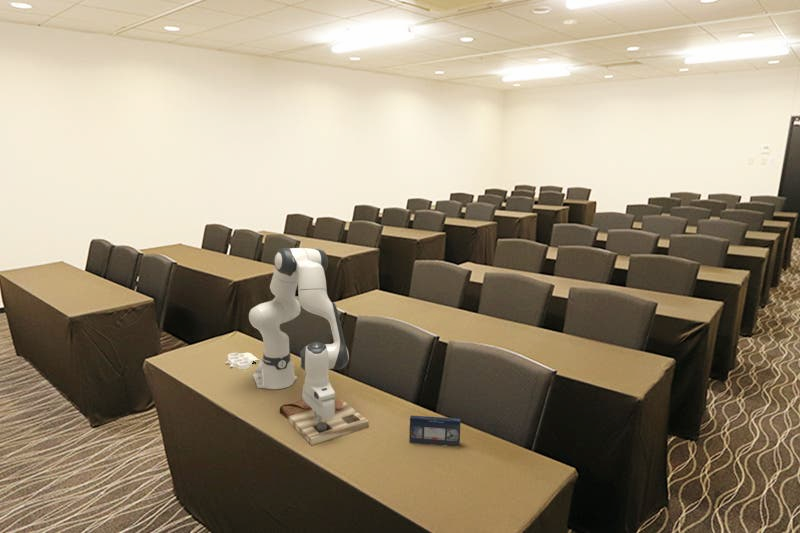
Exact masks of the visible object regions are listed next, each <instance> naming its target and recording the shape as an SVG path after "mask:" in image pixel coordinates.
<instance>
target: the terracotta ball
mask: <svg viewBox="0 0 800 533" xmlns="http://www.w3.org/2000/svg"><path fill="white" fill-rule="evenodd" d="M343 401H344V400H342V399H340V398H336V399H334V402H335V408H336V409H341V408H342V407H343Z"/></svg>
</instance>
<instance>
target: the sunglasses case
mask: <svg viewBox="0 0 800 533" xmlns="http://www.w3.org/2000/svg"><path fill="white" fill-rule="evenodd" d="M309 410H312V408H311V407H310V406H309V405H308V404H307V403H305V402H304V401H303V399H300V400H297V401H293V402H290V403H286V404H285V403H284V404H282V405H281V406H280V407H279V414H281V415H282V416H283V417H284V418H286V419H287V420H289V416H291V415H295V414H298V413H302V412H305V411H309Z"/></svg>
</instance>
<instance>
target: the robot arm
mask: <svg viewBox="0 0 800 533" xmlns="http://www.w3.org/2000/svg"><path fill="white" fill-rule="evenodd" d="M273 261H274V270H273V274H272V277H271V281H270V284H269V290H270V292H271V293H272V295H273V296H274V298H273V299H272V300H269V301H265V302H262V303H259V304H257V305H255V306H254V307H252V308H251V309H250V310H249V313H248V320H249V322H250V325H251V326H252V327H253V328H255V330H256V329H257V330H258V331H259V333H260V334H261V337H262V341H263V352H262V353H263V355H262V361H261V362H260V363H259V364H258V365H257V368H255V372H254V373H253V375H252V377H253V380H254V382H255V385H256V387H257V388H258V389H267V390H280V389H285V388H289V387H290V386H292V385H293V384H294V383H295V381H297V380H298V376H297V375H295V367H294V362H292V361H291V358H292V356H291V351H290V338H289V335H288V334H287V333H286V332H284V331H282V330H281V327H280V326H281V324H284V323H287V322H290V321H292V320H294V319H296V318H297V317H298V316H299V315H301V314H300V313H301V311H302V310H301V308H302V309H303V310H304V311H306V312H308V313H310V314H313V315H317V316H320V317H322V318H324V319H326V320H327V322H328V323H329V325H330V330H331V335H332V338H333V343H326V344H325V343H324V342H323V343H322V342H317V341H315V342H312V343H309V344H307V345H305V346H304V347H303V348H302V349H301V350H300V351H299V352H300V353H299V355H300V368H301V369H302V370H303V371H304V372H305V378H304V384H302V392H301V394H302V395H301V398H302V400H303V401H304V402H305V403H307V404H308V405H309V406H310V407H311V408H312V411H313V414H314V419H315V420H316V421H317V422H321V421H322V418H323V419H324V420H329V419H332V418H333V417H334V412H335V402H334V401H335V399H334V398H335V397H336V392H335V390H334V388H333V387H332V385H331V382H330V376H329V370H342V369H344V368H345V367H346V366H347V365H348V363H349V360H350V357H349V356H350V355H349V350H348V348H347V344H346V341H345V337H344V334H343V332H344V331H343V328H342V324H341V320H340V319H341V318H340V315H339V311H338V308H337V305H336V303H335V302H333V301H331V299H330V298H329V296H328V291H327V289H328V288H327V280H326V279H327V278H326V274H325V272H326V270H327V268H328V264H329V259H328V255H327V253H326V252H325V251H324V250H323V249H319V248H309V247H293V248H292V247H291V248H289V247H284V248H280V249H278V250H277V251H276V252H275V256H274V260H273ZM297 291H298V292H297ZM296 292H297V294H298V299H297V298H296Z"/></svg>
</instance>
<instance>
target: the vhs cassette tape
mask: <svg viewBox="0 0 800 533" xmlns="http://www.w3.org/2000/svg"><path fill="white" fill-rule="evenodd" d="M461 423H462V422H461V418H455V417H441V416H439V417H438V416H427V415H426V416H425V415H410V417H409V438H408V442H409V443H410V444H417V443H419V444H420V445H430V444H436V445H435V446H442V445H447V446H446V447H455V446H459V447H461V446H460V444H461V442H460V441H461Z"/></svg>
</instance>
